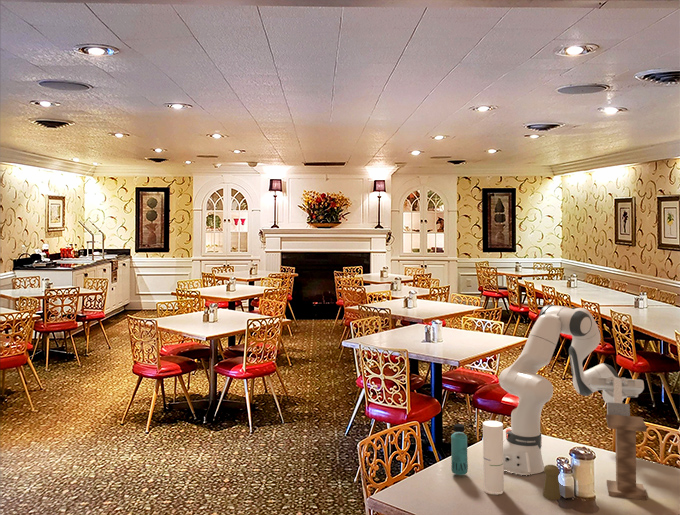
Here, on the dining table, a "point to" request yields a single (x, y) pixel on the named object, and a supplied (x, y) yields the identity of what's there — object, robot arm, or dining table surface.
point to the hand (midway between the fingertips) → (617, 378)
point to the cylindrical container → (493, 456)
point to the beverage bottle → (459, 450)
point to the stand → (626, 456)
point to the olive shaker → (551, 483)
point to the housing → (618, 401)
